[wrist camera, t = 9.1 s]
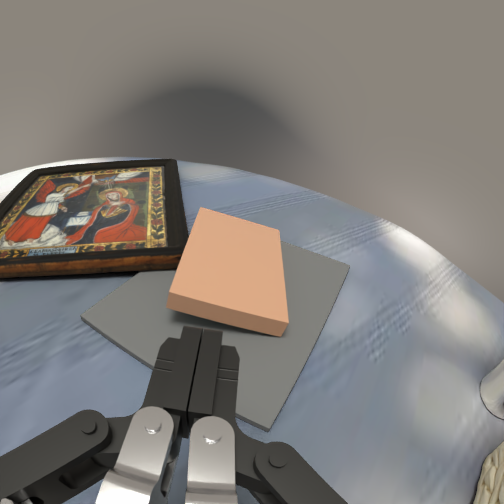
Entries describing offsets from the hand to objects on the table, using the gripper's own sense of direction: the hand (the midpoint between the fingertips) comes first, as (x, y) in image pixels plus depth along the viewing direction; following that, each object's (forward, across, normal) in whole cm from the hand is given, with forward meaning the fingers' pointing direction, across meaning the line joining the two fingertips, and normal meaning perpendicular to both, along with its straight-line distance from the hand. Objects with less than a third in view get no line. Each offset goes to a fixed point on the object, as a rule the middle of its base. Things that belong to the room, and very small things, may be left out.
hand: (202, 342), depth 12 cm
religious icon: (+31, +24, +12) cm, 41 cm away
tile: (+10, -1, +9) cm, 14 cm away
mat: (+17, -1, +12) cm, 20 cm away
